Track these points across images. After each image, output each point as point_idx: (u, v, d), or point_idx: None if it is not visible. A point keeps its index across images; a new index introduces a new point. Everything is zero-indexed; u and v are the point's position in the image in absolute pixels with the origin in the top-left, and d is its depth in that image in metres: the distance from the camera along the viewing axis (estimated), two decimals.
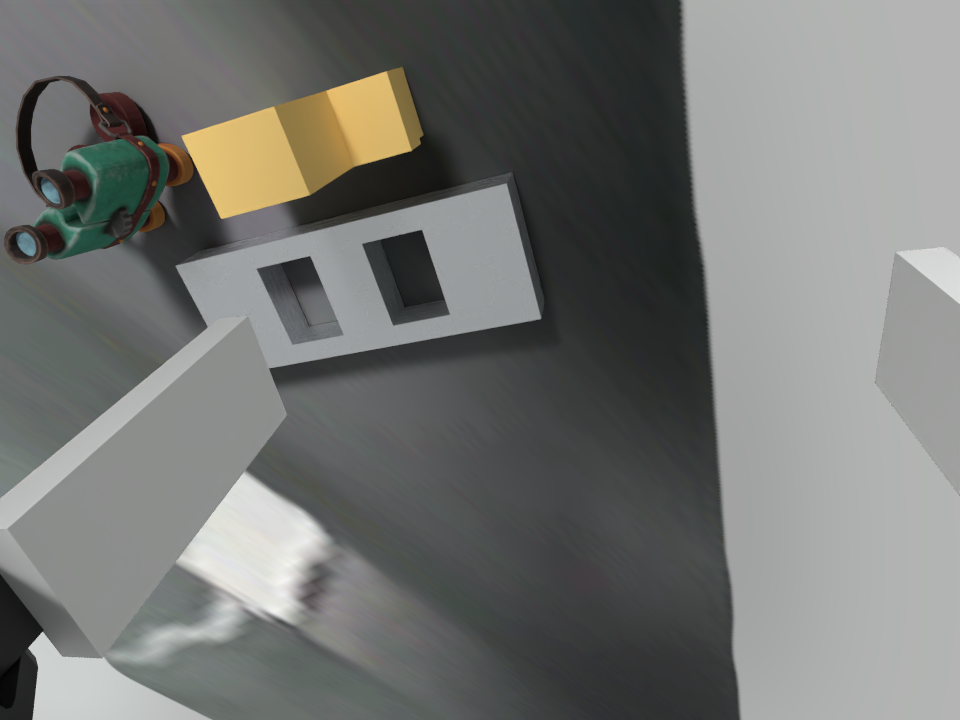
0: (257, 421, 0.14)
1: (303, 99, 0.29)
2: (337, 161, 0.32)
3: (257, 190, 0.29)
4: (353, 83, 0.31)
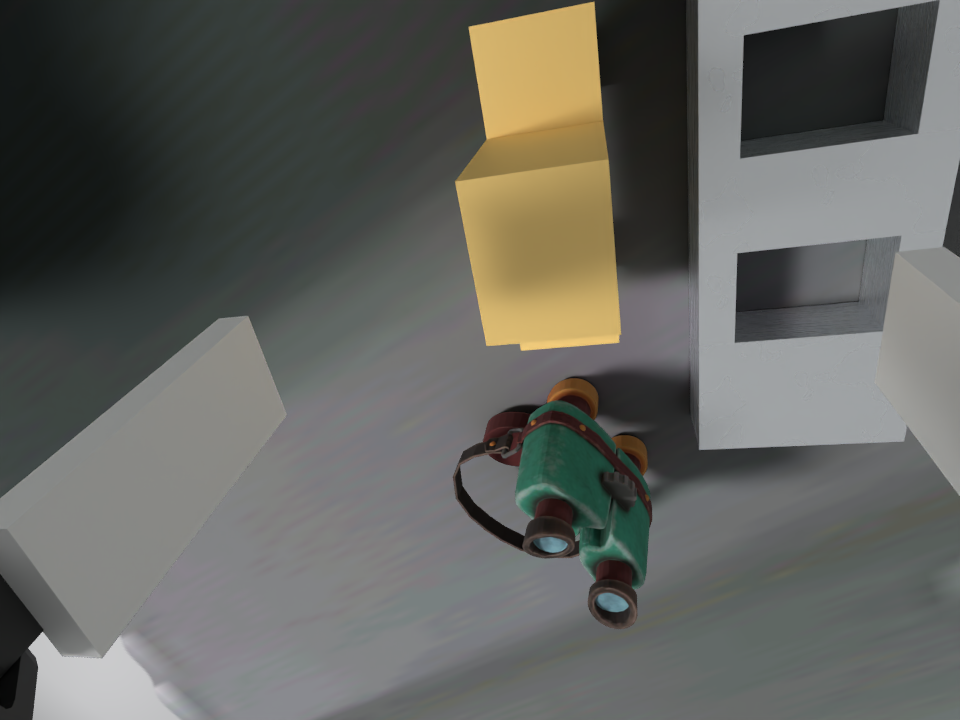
0: (257, 421, 0.14)
1: (475, 156, 0.19)
2: (582, 133, 0.19)
3: (584, 256, 0.17)
4: (480, 90, 0.20)
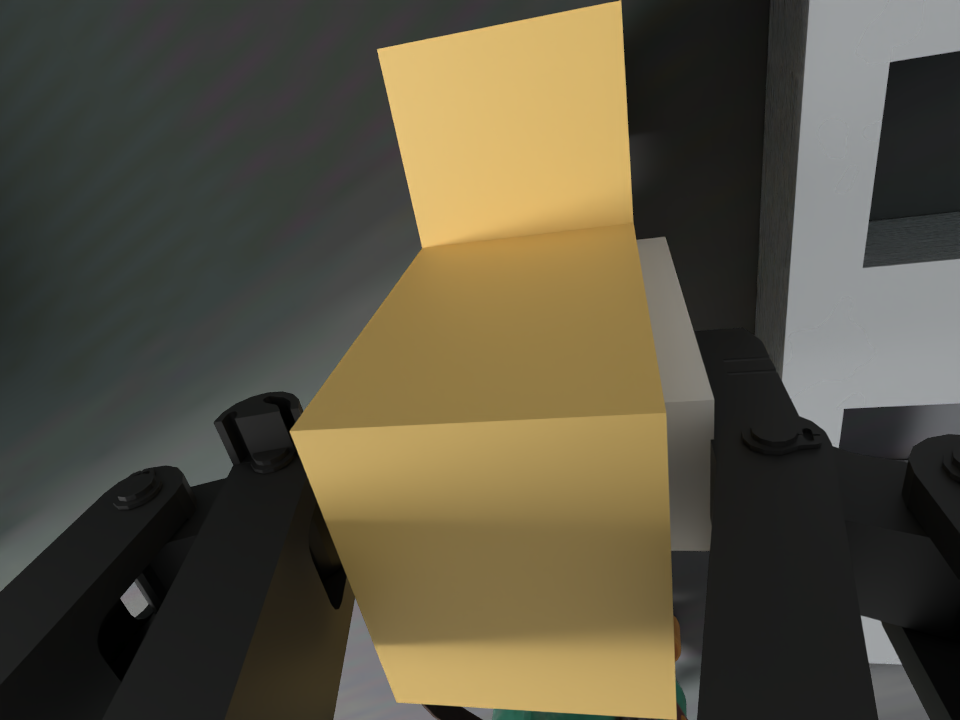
0: None
1: (380, 311, 0.09)
2: (596, 263, 0.09)
3: (598, 590, 0.07)
4: (407, 164, 0.11)
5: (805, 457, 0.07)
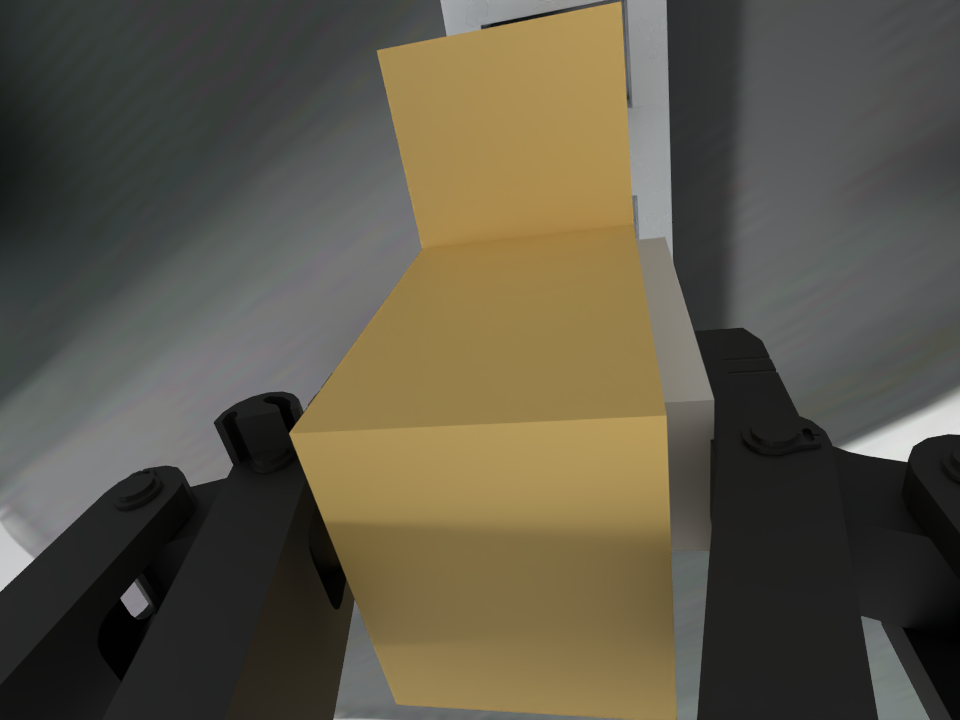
0: None
1: (379, 313, 0.09)
2: (596, 264, 0.09)
3: (598, 592, 0.07)
4: (406, 165, 0.11)
5: (805, 457, 0.07)
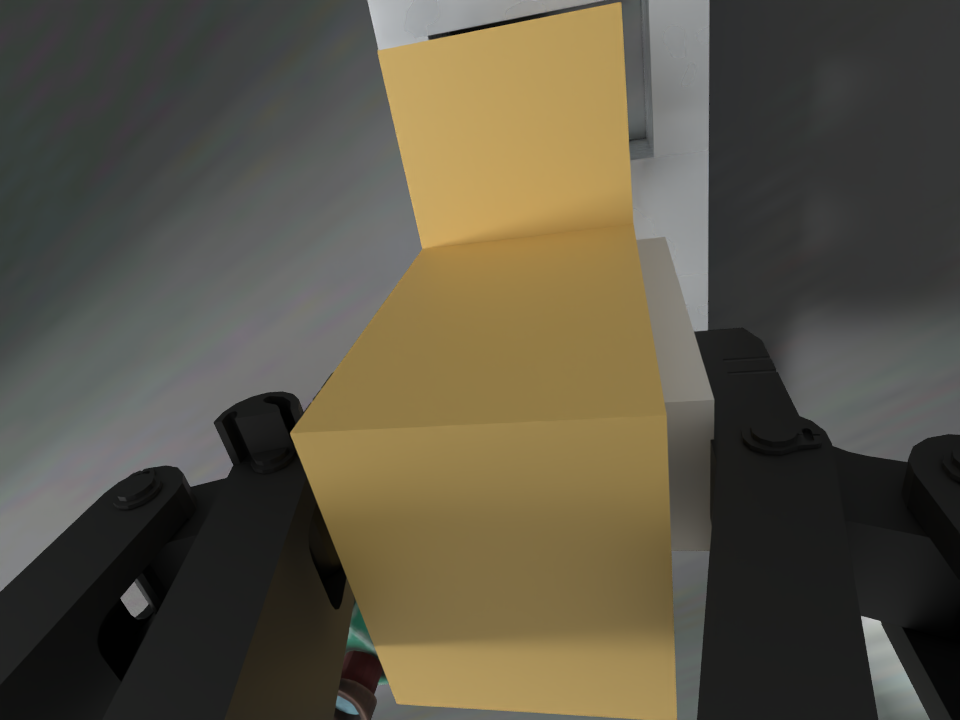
0: None
1: (380, 313, 0.09)
2: (596, 264, 0.09)
3: (598, 593, 0.07)
4: (407, 165, 0.11)
5: (805, 457, 0.07)
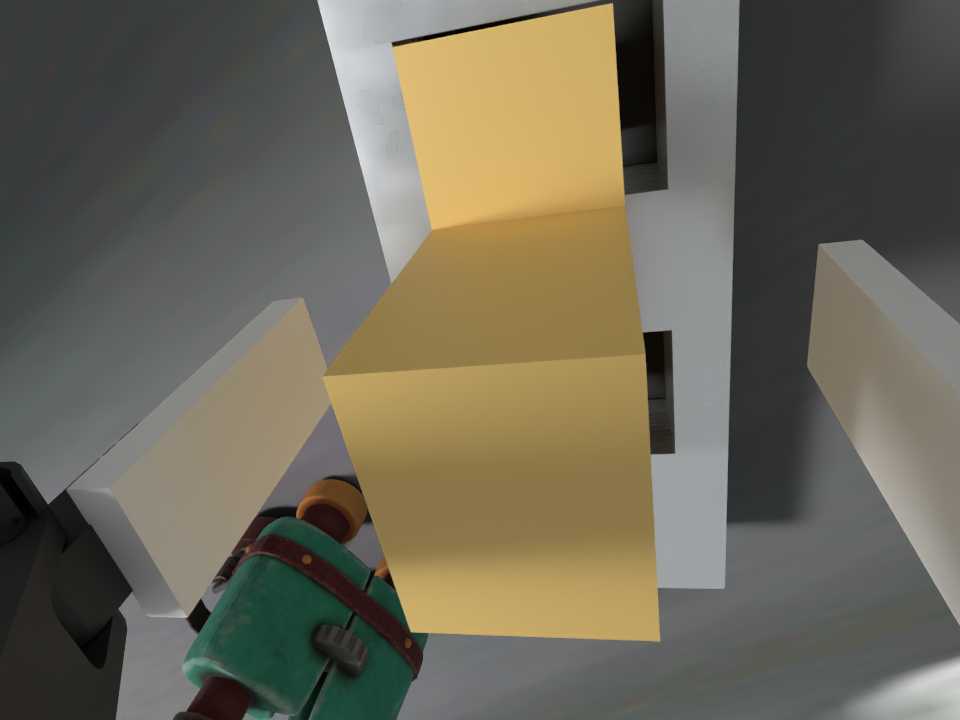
0: (311, 400, 0.14)
1: (396, 283, 0.10)
2: (590, 239, 0.11)
3: (590, 518, 0.08)
4: (418, 152, 0.12)
5: None
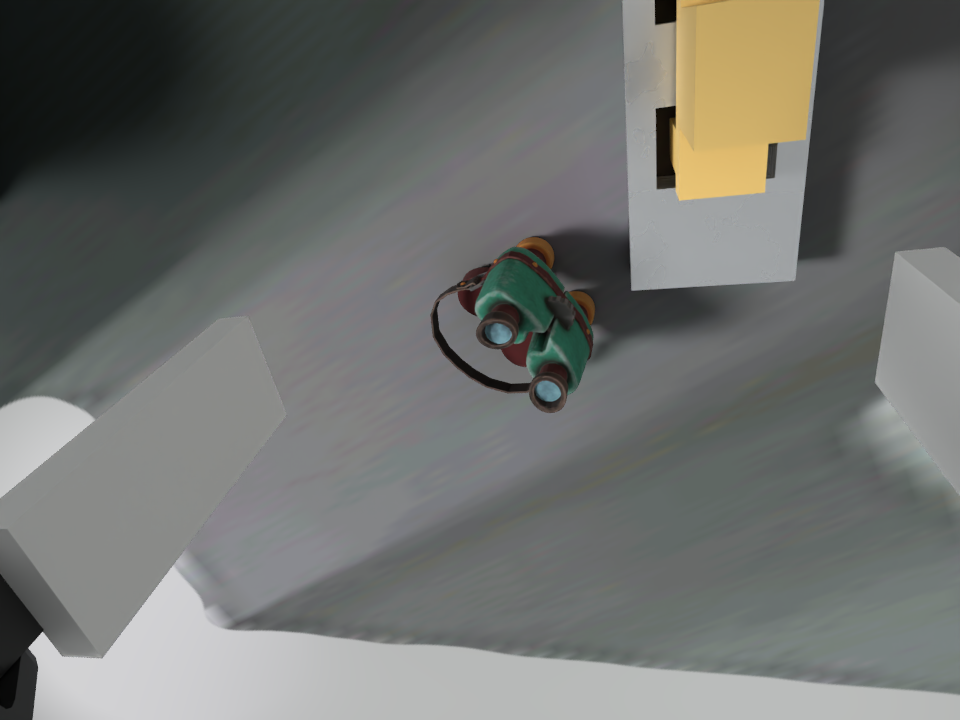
0: (257, 421, 0.14)
1: (689, 6, 0.24)
2: None
3: (787, 70, 0.22)
4: None
5: None
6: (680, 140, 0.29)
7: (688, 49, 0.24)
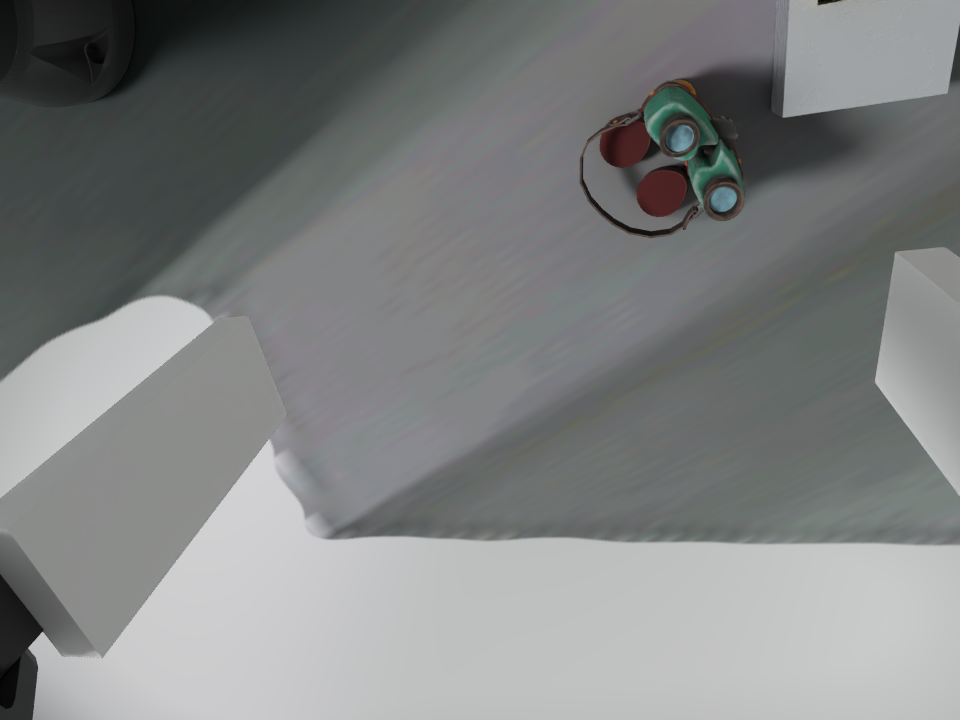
0: (257, 421, 0.14)
1: None
2: None
3: None
4: None
5: None
6: None
7: None
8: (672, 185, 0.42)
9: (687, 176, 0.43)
